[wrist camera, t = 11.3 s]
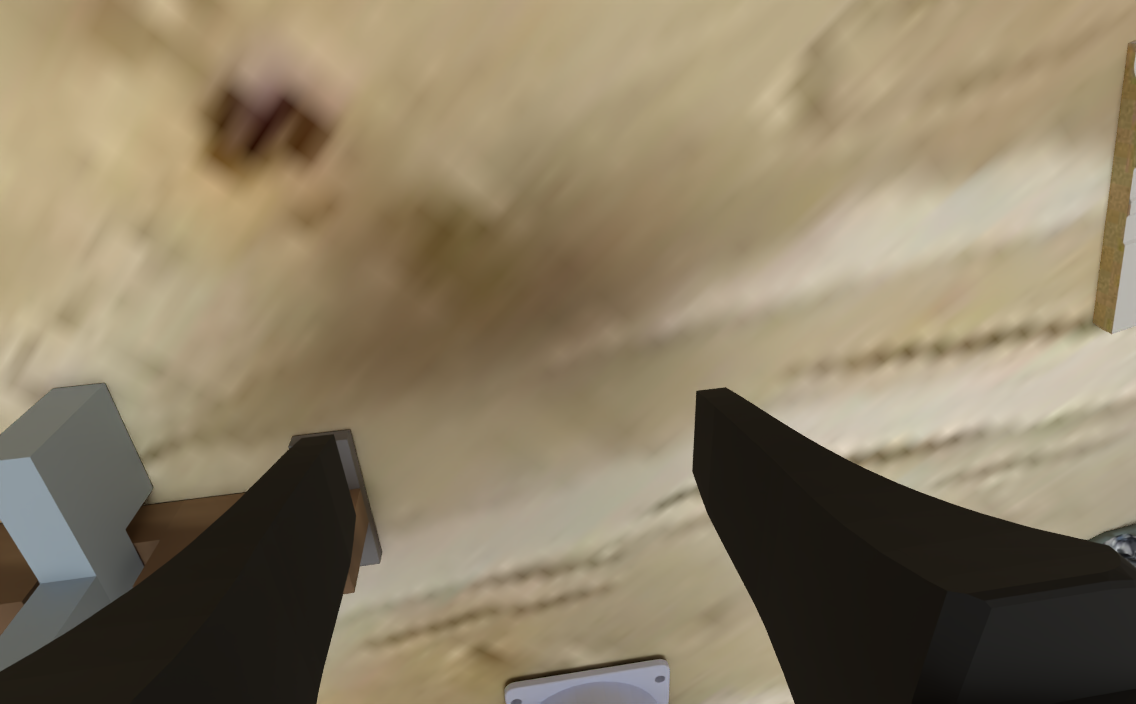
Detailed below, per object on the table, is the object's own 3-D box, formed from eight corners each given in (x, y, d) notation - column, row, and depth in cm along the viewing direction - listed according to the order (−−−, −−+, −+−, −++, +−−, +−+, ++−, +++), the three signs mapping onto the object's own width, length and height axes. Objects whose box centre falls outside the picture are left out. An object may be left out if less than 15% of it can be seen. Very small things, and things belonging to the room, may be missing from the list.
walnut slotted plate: (382, 552, 25) (367, 637, 22) (-48, 611, 24) (-138, 712, 20) (350, 429, 23) (327, 504, 19) (-139, 487, 21) (-261, 579, 18)
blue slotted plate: (218, 631, 26) (127, 853, 19) (178, 637, 26) (71, 863, 19) (104, 382, 21) (-85, 569, 14) (52, 388, 20) (-166, 579, 13)
